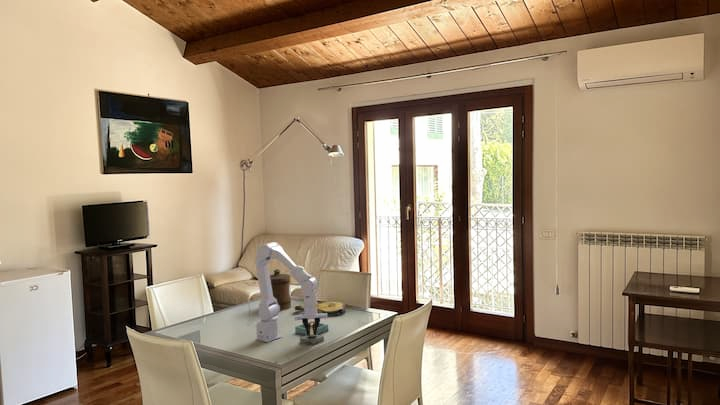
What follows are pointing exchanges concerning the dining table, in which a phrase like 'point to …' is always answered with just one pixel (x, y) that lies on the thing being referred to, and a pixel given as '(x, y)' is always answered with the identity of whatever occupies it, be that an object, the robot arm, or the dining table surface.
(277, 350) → the dining table surface
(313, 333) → the pin
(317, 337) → the pin bracket
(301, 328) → the tray
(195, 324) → the dining table surface
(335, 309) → the pulley block
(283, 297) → the wooden container
